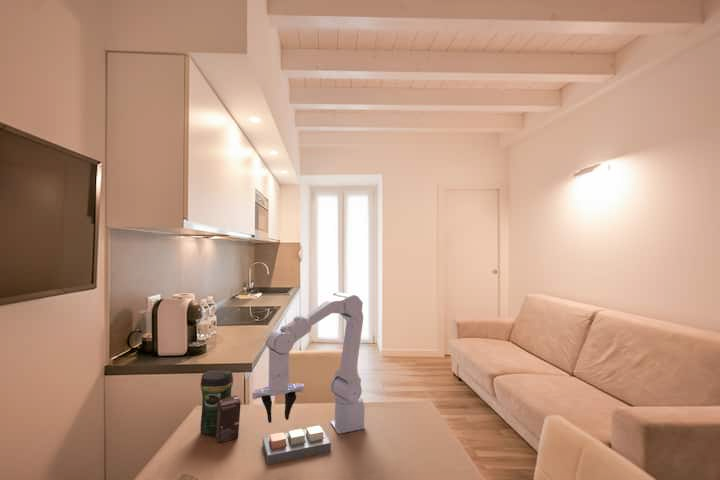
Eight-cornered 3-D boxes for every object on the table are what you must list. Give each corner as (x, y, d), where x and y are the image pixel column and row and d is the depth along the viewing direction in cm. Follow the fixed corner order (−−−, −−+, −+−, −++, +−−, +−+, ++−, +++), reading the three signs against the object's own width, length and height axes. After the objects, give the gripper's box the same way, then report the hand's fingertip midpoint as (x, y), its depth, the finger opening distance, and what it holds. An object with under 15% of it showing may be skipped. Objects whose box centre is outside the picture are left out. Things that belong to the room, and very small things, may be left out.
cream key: (319, 435, 114) (319, 425, 114) (322, 441, 110) (323, 431, 110) (306, 437, 112) (306, 427, 112) (309, 444, 109) (309, 434, 109)
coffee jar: (236, 424, 122) (236, 367, 123) (226, 436, 114) (227, 375, 115) (207, 424, 122) (208, 367, 123) (196, 435, 115) (196, 375, 115)
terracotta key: (283, 442, 110) (283, 432, 110) (285, 449, 106) (286, 438, 106) (269, 444, 108) (269, 434, 108) (271, 452, 104) (271, 441, 104)
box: (219, 444, 111) (220, 405, 110) (215, 435, 114) (217, 398, 113) (239, 438, 114) (241, 401, 113) (235, 430, 118) (237, 394, 117)
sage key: (301, 438, 112) (301, 428, 112) (304, 445, 108) (304, 435, 108) (288, 441, 110) (288, 431, 110) (291, 448, 106) (291, 437, 106)
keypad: (321, 434, 117) (321, 426, 117) (330, 451, 108) (330, 442, 108) (262, 445, 110) (263, 437, 110) (267, 464, 101) (268, 455, 101)
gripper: (254, 381, 101) (253, 430, 101) (306, 374, 106) (306, 421, 106) (251, 372, 107) (251, 419, 107) (301, 366, 113) (300, 411, 113)
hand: (278, 419), depth 107 cm, fingers open, 4 cm apart
